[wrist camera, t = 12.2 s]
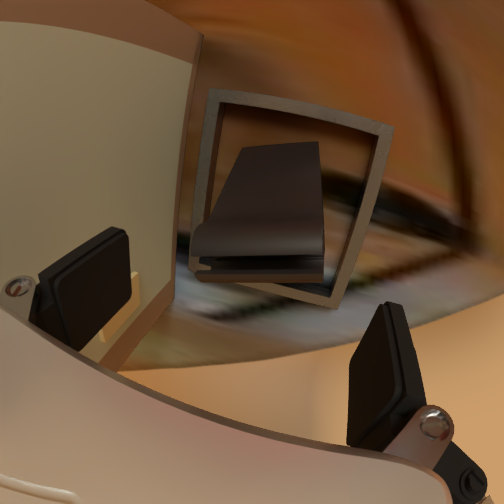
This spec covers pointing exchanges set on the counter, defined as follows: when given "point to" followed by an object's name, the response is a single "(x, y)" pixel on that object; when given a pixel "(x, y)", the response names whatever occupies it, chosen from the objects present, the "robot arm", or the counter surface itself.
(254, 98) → the grey flat square frame
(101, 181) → the tan picture frame
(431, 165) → the counter surface
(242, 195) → the phone stand
